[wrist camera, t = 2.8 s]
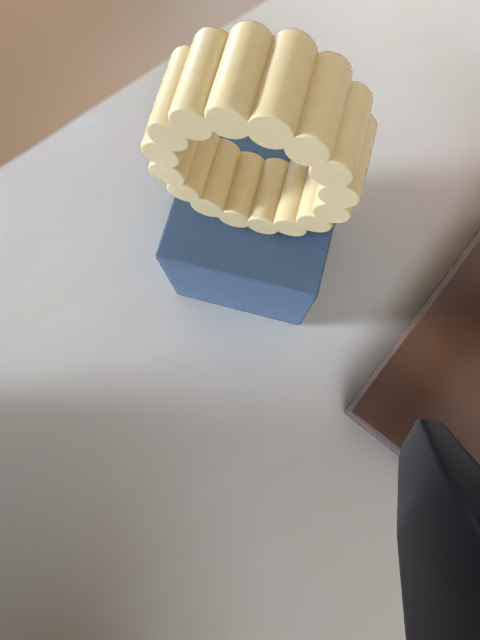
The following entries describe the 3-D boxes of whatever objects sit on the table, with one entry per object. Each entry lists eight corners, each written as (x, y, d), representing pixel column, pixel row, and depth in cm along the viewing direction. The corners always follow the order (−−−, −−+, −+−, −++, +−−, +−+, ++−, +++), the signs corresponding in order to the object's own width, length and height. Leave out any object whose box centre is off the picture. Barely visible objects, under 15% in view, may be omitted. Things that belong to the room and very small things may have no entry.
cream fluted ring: (333, 251, 17) (391, 143, 10) (164, 210, 17) (112, 81, 11) (347, 192, 17) (411, 52, 11) (182, 154, 18) (144, -4, 11)
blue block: (299, 325, 22) (317, 297, 16) (176, 294, 22) (154, 256, 17) (327, 210, 23) (352, 149, 18) (210, 183, 24) (200, 114, 18)
